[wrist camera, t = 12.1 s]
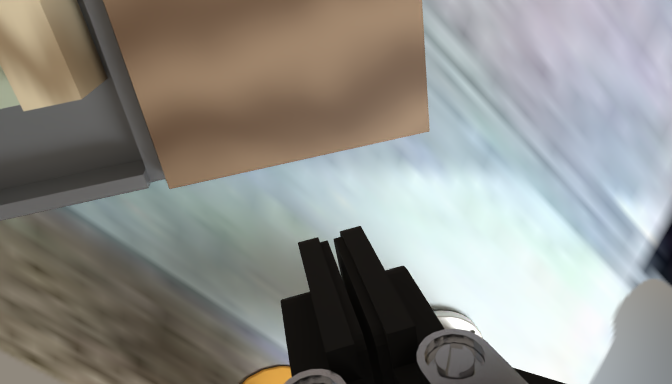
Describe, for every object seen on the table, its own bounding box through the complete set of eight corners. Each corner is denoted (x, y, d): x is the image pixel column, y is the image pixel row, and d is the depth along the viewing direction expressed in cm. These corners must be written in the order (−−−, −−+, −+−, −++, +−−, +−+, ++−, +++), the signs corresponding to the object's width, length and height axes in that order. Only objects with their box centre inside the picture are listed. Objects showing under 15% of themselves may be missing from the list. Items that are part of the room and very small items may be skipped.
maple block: (81, 99, 24) (23, 111, 24) (107, 78, 30) (60, 88, 29) (29, -23, 22) (-37, -11, 21) (68, -22, 27) (16, -12, 27)
